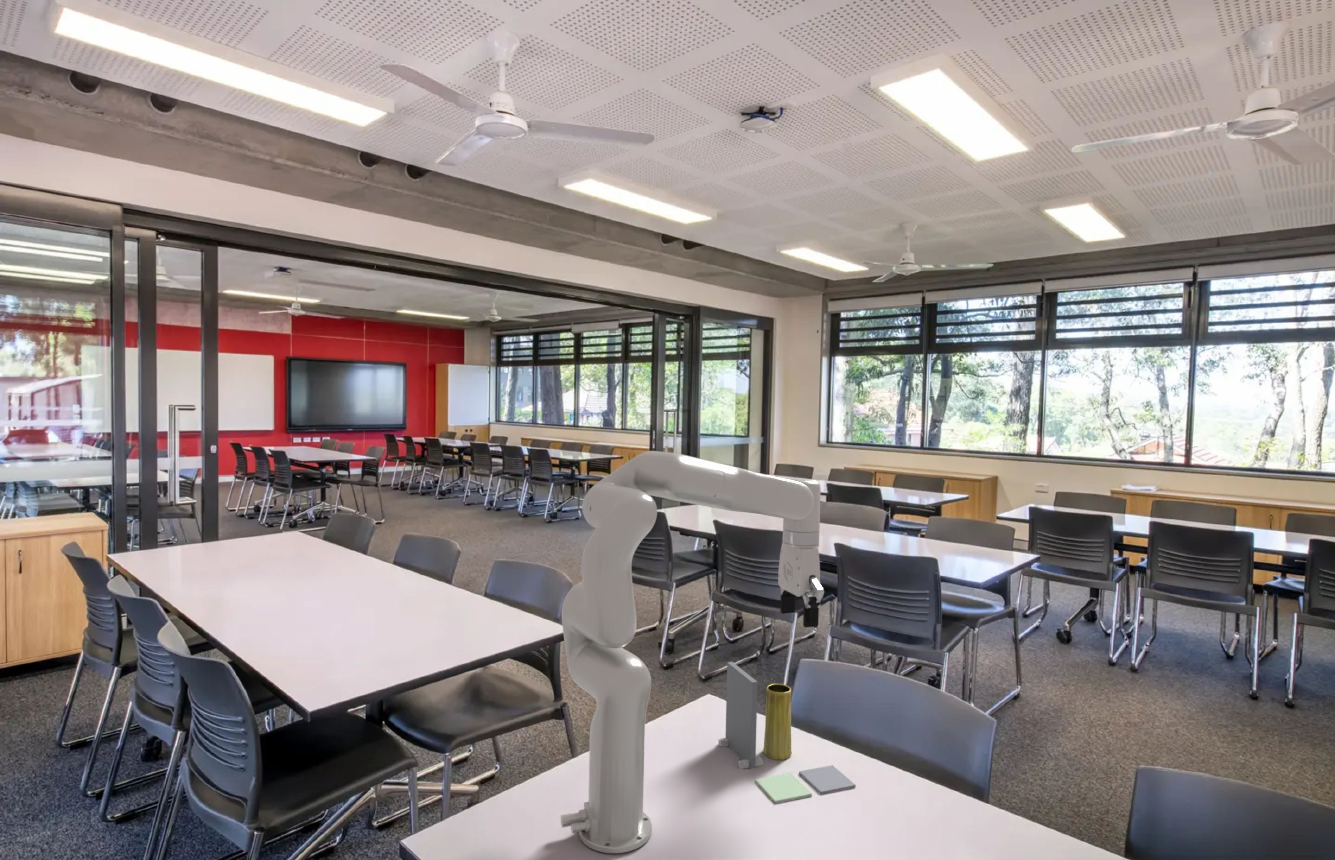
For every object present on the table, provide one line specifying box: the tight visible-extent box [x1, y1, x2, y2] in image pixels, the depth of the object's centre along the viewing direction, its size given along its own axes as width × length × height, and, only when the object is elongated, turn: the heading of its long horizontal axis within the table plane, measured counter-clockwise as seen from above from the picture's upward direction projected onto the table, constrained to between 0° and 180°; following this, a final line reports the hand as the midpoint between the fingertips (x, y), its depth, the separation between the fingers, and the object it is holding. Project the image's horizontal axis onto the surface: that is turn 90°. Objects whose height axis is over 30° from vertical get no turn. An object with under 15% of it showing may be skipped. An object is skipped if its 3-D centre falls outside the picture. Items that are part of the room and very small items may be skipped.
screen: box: [717, 661, 764, 770], centre depth 148 cm, size 5×12×18 cm, turn 20°
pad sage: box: [754, 772, 813, 804], centre depth 135 cm, size 8×8×1 cm
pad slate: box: [798, 764, 857, 795], centre depth 139 cm, size 8×8×1 cm
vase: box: [762, 683, 793, 761], centre depth 149 cm, size 6×6×14 cm
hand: (798, 619), depth 145 cm, fingers open, 9 cm apart
